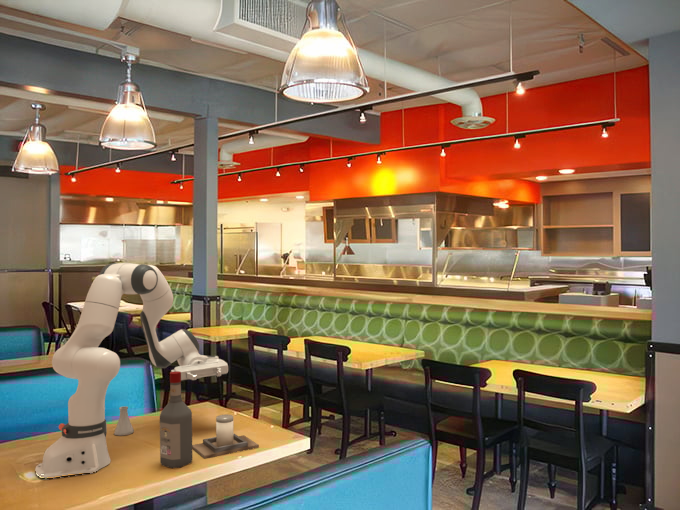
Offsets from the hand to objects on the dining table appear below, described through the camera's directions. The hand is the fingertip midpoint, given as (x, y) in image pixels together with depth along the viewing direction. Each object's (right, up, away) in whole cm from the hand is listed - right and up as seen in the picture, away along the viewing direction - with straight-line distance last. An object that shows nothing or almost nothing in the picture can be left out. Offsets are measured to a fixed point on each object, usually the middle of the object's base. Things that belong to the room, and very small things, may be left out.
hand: (207, 376), depth 224 cm
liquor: (-5, -24, -25) cm, 35 cm away
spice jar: (+9, -22, -10) cm, 26 cm away
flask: (-34, -24, +8) cm, 42 cm away
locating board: (+9, -23, -10) cm, 27 cm away
